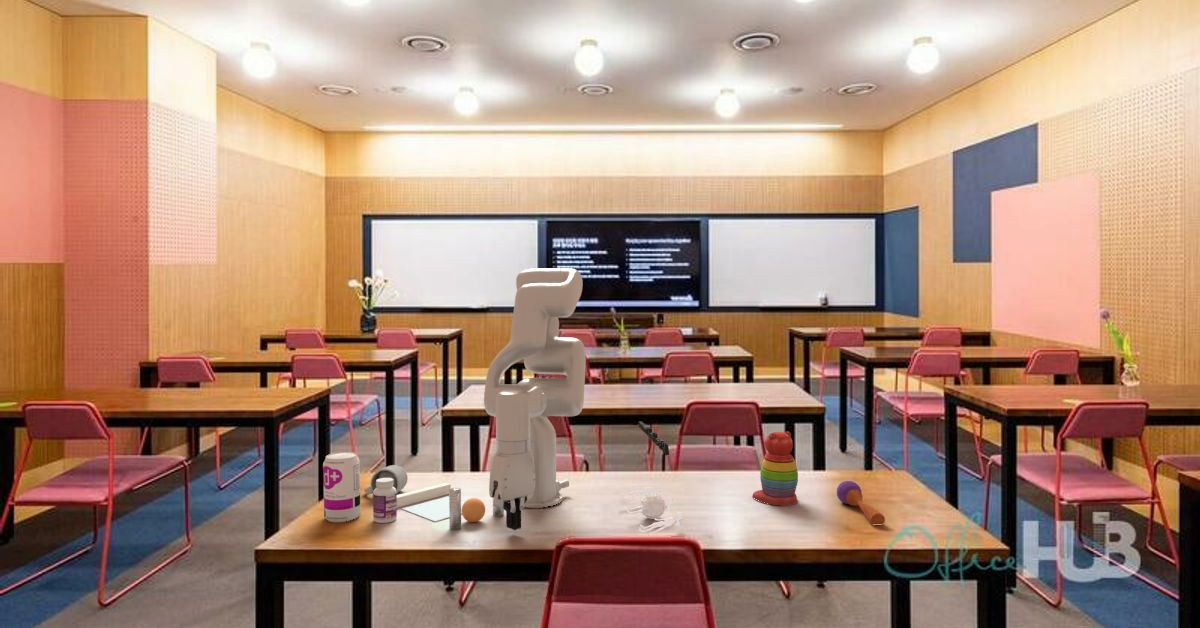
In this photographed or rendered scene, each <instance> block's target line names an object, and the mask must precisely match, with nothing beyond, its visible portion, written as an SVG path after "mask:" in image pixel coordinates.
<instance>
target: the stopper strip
mask: <svg viewBox="0 0 1200 628" xmlns="http://www.w3.org/2000/svg"><path fill="white" fill-rule="evenodd" d="M451 488H452V487H451V483H447V482H444V483H439V484H436V485H432V486H427V487H424V488H420V489H416V490H413V491H408V492H405V493H400V494H397V509H398V508H403V507H405V506H408V505H409V506H410V505H413V504H417V503H421V502H423V501H424V502H425V501H427V500H433V499H437V498H439V497H442V496H446V495H449V489H451Z"/></svg>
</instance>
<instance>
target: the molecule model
mask: <svg viewBox="0 0 1200 628" xmlns="http://www.w3.org/2000/svg"><path fill="white" fill-rule="evenodd" d="M638 428H639V429H641V431H642V432H643V433H644V434H645V435H646V436H648V438H649V439H650V441H652V442H653V443H654V444H655V446H656V447H658V449H659V450H660V451H661V452H662V453H663V454H664V455H666V456H669V455H670V449H669V444H668V443H667V441H665V440H664V439H661V438H658V433H657V432H653V428H652V427H651V426H649V425H648V426H647V424H645V423H644V422H643V421H638ZM657 485H658V487H659V488H654V487H653V486H652V487H651V486H648V487H647V486H646V487H645V486H643V487H641V486H640V487H639V486H632V488H635V489H640V490H633V491H631V492H627V493H624V492H622V491H620V494H621V495H619V497H620V498H621V499H622V500H624V499H630V498H634V497H638V496H641V497H639V498H638V499H636V500H631V501H629V504H632V503H634V502H635V503H636V502H638V501H640V504H639V505H638V506H635V507H630V505H627V509H626V512H627V513H628V514H633V513H635V514H636V513H639V512H641V513H642V515H641V514H640V515H639V516H637V519H641V518H642V517H645V518H647V519H650V520H655V521H657V522H653V523H652V524H650V525H648V526H644V525H643V524H642V523H641V524H640V527H641V528H640V527H639V528H638V530H639V531H640V532H641V533H645V532H647V534H646V535H647V536H648V535H649V536H651V535H653V534H654V533H656V532H660V531H663V530H664V529H666V528H667V527H671V526H672V525H673V524H674V523H675V526H676V527H677V526H678V527H680V526H681V524H680V520H683V517H682V514H683V511H680V510H679V511H677V514H678V517H675V518H674V516H669V517H665V518H661V516H663V515H664V514H665V509H666V507H667V511H671V510H672V507H671V505H674V504H675V502H673V496H668V497H667V498H668V500H669V502H667V503H666V502H665V499H664V498H663V497H662V494H661V492H662V491H664V488H662V487H663V483H658V484H657ZM630 494H631V495H630ZM622 495H623V496H622ZM624 495H625V497H624ZM626 495H629V496H626ZM628 508H629V509H628ZM638 508H640V509H638ZM634 509H638V510H635V511H630V510H634ZM659 527H660V528H659ZM655 528H658V529H656V530H655V531H652V532H649V533H648V531H651V530H654V529H655Z"/></svg>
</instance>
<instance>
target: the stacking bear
mask: <svg viewBox="0 0 1200 628" xmlns="http://www.w3.org/2000/svg"><path fill="white" fill-rule="evenodd" d="M793 444H794V443H793V439H792V434H791V432H790V431H789V430H788V431H785V432H783V431H774V432H771V433H769V435H767V437H766V438H765V440H764V446H765V450H766V451H767V453H766V454H764V458H763V460H762V462H761V463H762V464H761V467H760V473H759V475H760V483H761V489H759V490H756V491H754V492H753V493H752V499H753V498H755V499H757V500H759V501H762V502H765V503H768V504H767V505H770V504H774V505H773V506H775V505H782V506H781V507H784V506H783V505H789V506H793V505H795V504H797V502H798V497H797V494H796V490H797V486H798V480H799V472H798V469H797V468H798V467H797V466H798V465H797V462H796V460H795V459H794V457H793V455H792V454H791V453H792V450H793V446H794V445H793ZM755 499H754V500H755ZM757 500H756V501H757ZM759 501H758V502H759ZM762 502H761V503H762ZM765 503H764V504H765ZM792 504H793V505H792Z"/></svg>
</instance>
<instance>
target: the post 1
mask: <svg viewBox="0 0 1200 628" xmlns="http://www.w3.org/2000/svg"><path fill="white" fill-rule="evenodd" d="M448 496H449V516H450V518H449V530H451V531H458V530H461V529H462V514H461V500H462V488H461V487H451V489H449V494H448Z"/></svg>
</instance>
